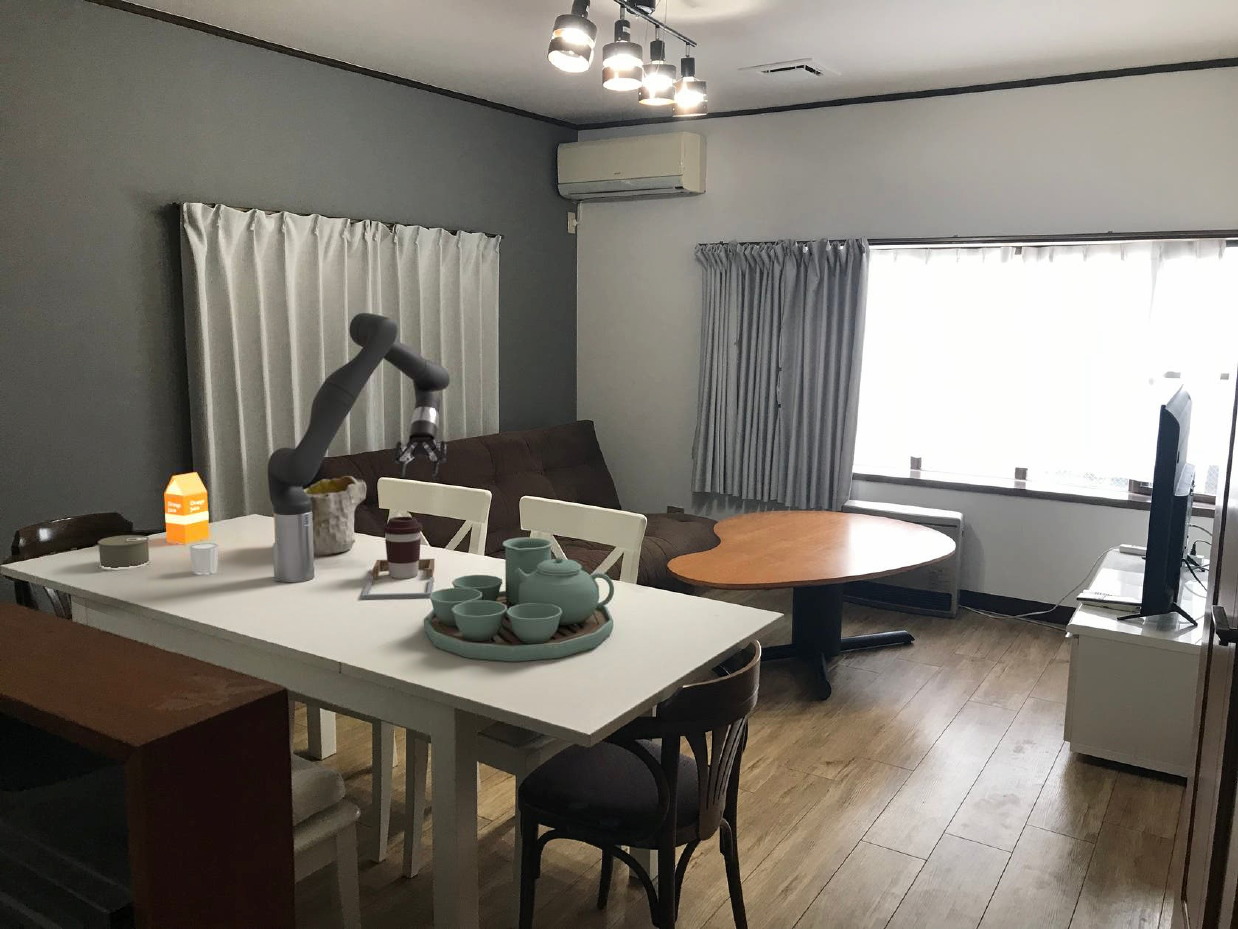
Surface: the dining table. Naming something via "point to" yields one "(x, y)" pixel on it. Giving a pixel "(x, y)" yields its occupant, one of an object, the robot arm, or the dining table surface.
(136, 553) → the can
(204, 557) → the shot glass
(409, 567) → the coffee cup
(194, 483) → the orange juice
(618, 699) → the dining table surface
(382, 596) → the grey bay
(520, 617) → the tea set
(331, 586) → the dining table surface
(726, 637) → the dining table surface
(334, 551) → the ceramic vessel
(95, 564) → the dining table surface
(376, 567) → the cup holder
